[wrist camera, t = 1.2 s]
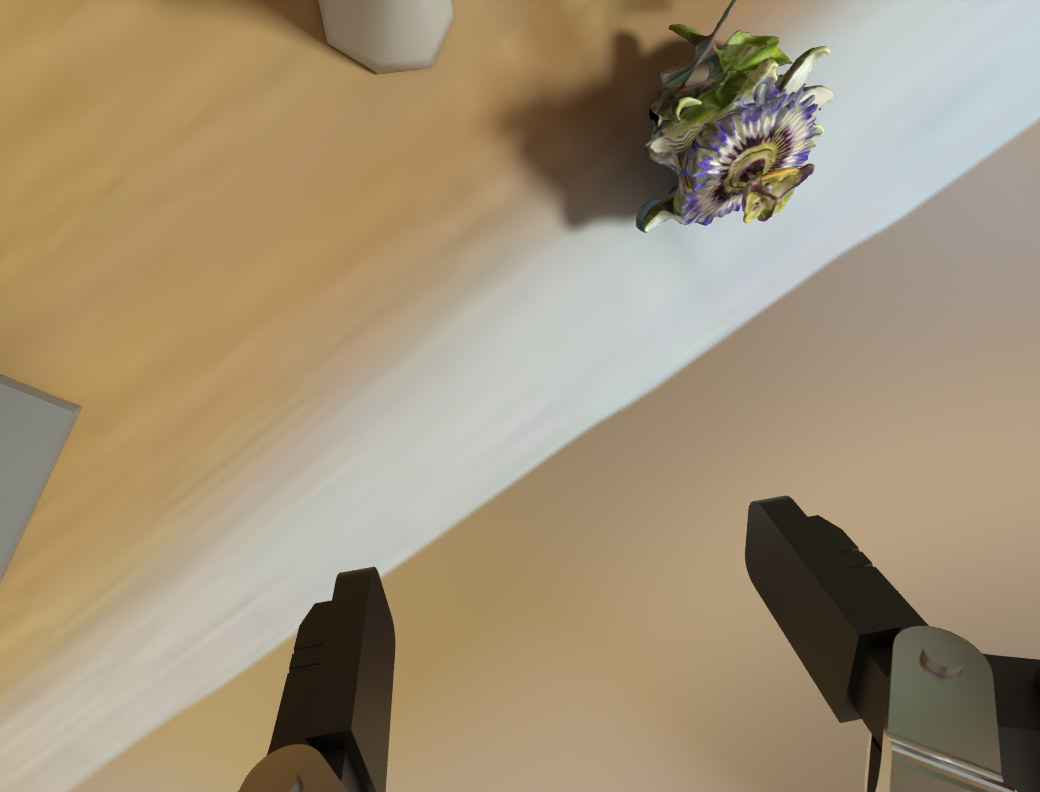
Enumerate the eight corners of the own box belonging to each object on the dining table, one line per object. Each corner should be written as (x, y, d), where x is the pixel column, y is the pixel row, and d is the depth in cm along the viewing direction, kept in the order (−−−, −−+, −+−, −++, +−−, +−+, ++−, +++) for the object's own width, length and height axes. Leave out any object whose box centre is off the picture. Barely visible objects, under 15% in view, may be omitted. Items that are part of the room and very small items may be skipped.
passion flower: (660, 202, 44) (652, 286, 35) (599, 48, 38) (571, 99, 29) (832, 132, 38) (875, 210, 30) (788, -57, 33) (825, -33, 24)
